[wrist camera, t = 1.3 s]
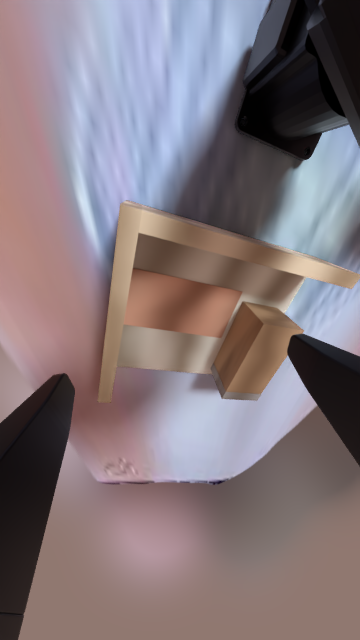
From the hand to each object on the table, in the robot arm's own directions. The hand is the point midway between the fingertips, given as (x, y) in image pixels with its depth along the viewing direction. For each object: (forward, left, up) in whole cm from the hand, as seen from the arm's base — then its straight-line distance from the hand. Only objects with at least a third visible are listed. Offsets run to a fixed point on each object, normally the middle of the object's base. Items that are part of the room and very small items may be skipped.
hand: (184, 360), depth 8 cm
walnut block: (-11, +7, -12) cm, 18 cm away
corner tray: (-6, +4, -13) cm, 15 cm away
